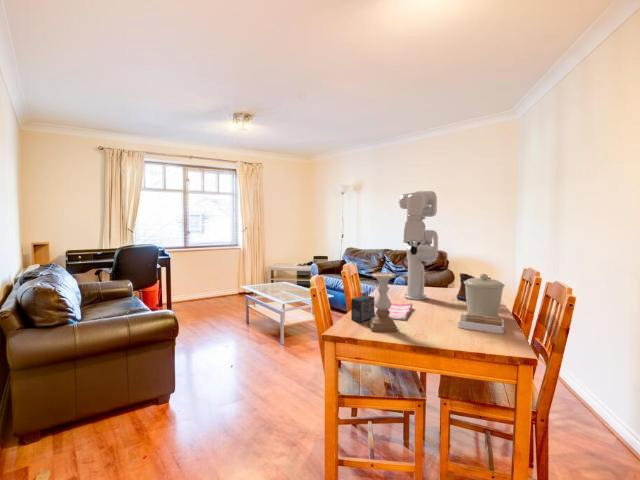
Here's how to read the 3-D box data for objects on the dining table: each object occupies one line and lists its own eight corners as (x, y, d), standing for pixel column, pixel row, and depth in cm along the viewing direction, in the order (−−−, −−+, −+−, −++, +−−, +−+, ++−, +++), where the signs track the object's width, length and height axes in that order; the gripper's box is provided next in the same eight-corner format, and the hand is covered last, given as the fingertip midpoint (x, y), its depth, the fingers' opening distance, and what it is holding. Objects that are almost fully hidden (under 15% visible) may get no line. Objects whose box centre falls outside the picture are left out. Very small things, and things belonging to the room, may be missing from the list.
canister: (507, 316, 173) (509, 273, 171) (496, 324, 160) (498, 278, 158) (469, 309, 185) (471, 269, 183) (456, 316, 172) (458, 274, 170)
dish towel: (413, 309, 187) (413, 302, 186) (405, 322, 165) (405, 314, 165) (381, 305, 193) (381, 299, 193) (370, 317, 172) (370, 310, 172)
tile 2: (483, 325, 160) (484, 315, 159) (501, 327, 157) (501, 317, 156) (483, 329, 154) (483, 319, 153) (501, 332, 150) (501, 322, 150)
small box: (364, 315, 174) (364, 294, 173) (375, 318, 169) (375, 296, 169) (350, 320, 167) (350, 298, 166) (361, 323, 162) (361, 300, 161)
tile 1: (466, 322, 163) (467, 313, 163) (483, 325, 160) (483, 315, 160) (465, 327, 157) (466, 317, 156) (483, 329, 154) (483, 319, 153)
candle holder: (368, 323, 161) (369, 271, 159) (392, 323, 161) (393, 272, 159) (371, 331, 150) (372, 276, 148) (397, 332, 150) (398, 276, 148)
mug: (491, 300, 203) (492, 274, 202) (488, 304, 194) (489, 278, 193) (458, 296, 213) (459, 271, 212) (454, 300, 204) (454, 274, 203)
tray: (460, 319, 167) (461, 313, 167) (503, 325, 159) (503, 318, 159) (458, 327, 156) (458, 321, 155) (503, 334, 148) (504, 327, 147)
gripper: (430, 218, 180) (429, 254, 181) (401, 218, 186) (400, 253, 188) (428, 219, 173) (427, 256, 174) (398, 218, 179) (397, 254, 181)
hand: (413, 254), depth 181 cm, fingers closed
